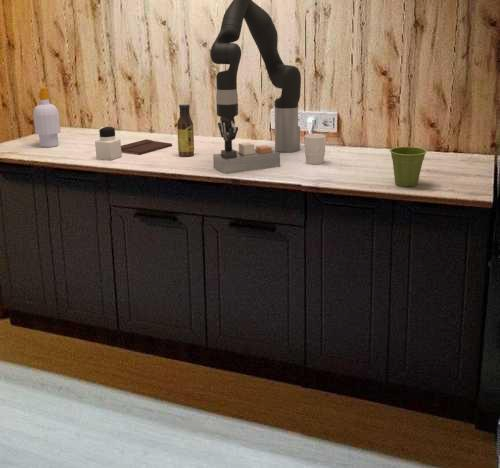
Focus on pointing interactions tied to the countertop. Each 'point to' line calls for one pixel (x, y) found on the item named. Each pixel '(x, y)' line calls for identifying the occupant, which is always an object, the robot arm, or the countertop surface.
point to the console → (246, 161)
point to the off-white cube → (246, 148)
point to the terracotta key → (263, 149)
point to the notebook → (144, 147)
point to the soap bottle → (46, 121)
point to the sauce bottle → (185, 132)
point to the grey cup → (315, 148)
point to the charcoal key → (228, 153)
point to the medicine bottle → (108, 144)
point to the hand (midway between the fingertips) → (228, 150)
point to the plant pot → (407, 164)
